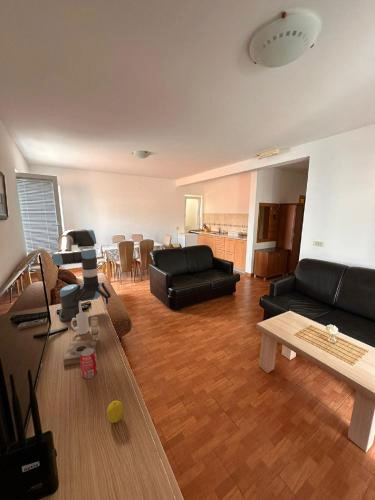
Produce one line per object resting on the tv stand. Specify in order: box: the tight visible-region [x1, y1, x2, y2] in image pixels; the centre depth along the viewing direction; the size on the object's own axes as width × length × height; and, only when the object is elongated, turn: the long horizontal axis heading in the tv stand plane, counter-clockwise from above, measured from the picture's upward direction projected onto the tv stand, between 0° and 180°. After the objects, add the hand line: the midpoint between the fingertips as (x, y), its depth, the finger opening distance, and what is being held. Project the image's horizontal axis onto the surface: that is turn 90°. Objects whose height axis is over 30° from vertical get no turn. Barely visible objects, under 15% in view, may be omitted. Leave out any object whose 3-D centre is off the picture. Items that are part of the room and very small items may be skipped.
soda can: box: [79, 348, 98, 379], centre depth 98 cm, size 7×7×12 cm
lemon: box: [106, 399, 124, 424], centre depth 76 cm, size 6×6×8 cm
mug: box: [70, 311, 90, 335], centre depth 134 cm, size 10×7×12 cm, turn 120°
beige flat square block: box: [62, 339, 98, 367], centre depth 113 cm, size 14×14×4 cm
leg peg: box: [89, 316, 100, 342], centre depth 125 cm, size 4×4×14 cm
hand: (93, 310), depth 123 cm, fingers open, 13 cm apart
